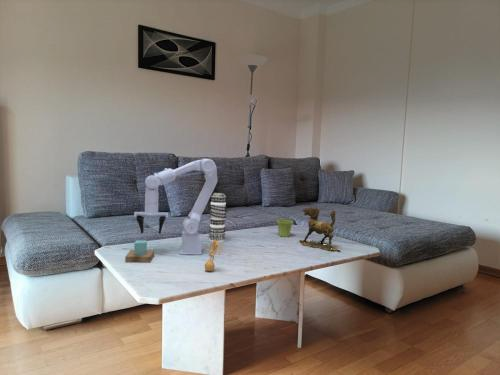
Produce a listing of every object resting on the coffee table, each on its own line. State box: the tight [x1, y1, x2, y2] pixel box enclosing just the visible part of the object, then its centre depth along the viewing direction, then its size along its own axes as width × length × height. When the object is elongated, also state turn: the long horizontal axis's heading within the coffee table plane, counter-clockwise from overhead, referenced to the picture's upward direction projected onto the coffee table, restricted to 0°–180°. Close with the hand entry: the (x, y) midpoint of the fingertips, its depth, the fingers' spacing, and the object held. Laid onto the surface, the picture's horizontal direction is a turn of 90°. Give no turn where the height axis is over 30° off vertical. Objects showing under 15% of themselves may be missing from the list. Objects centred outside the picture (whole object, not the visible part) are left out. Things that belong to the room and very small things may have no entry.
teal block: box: [133, 239, 148, 255], centre depth 152 cm, size 4×4×5 cm
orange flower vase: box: [204, 241, 222, 272], centre depth 142 cm, size 8×6×12 cm
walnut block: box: [124, 249, 155, 264], centre depth 153 cm, size 10×10×3 cm
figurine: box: [299, 206, 341, 253], centre depth 188 cm, size 13×25×20 cm, turn 41°
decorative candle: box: [208, 192, 228, 243], centre depth 190 cm, size 9×9×25 cm
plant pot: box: [276, 219, 294, 238], centre depth 208 cm, size 9×9×9 cm
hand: (151, 233), depth 160 cm, fingers open, 7 cm apart
